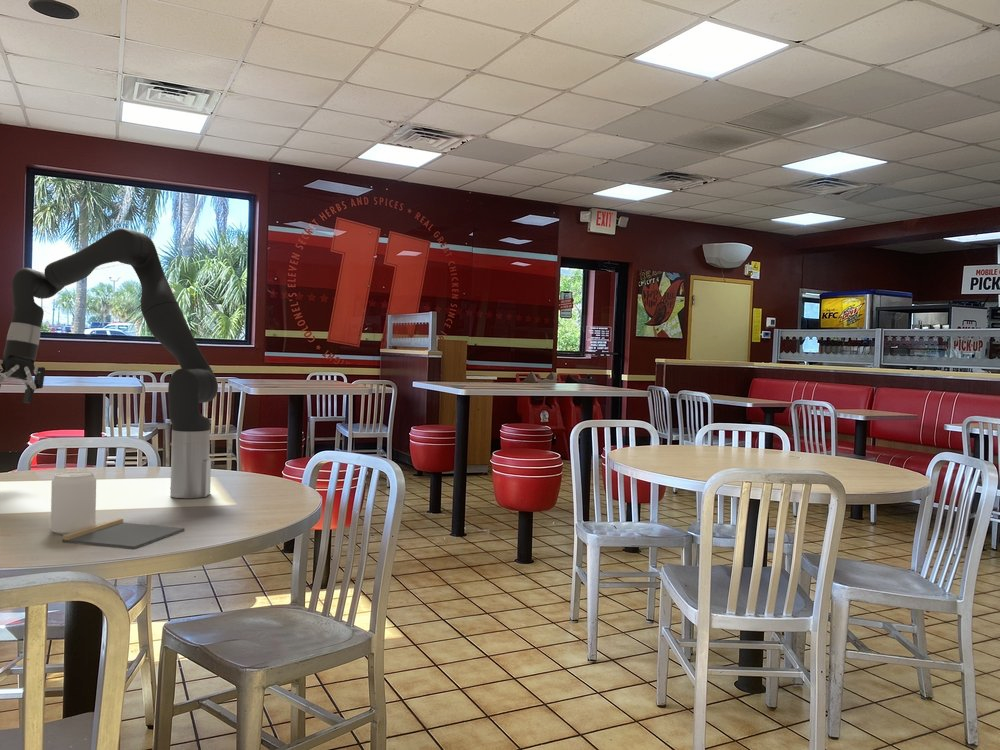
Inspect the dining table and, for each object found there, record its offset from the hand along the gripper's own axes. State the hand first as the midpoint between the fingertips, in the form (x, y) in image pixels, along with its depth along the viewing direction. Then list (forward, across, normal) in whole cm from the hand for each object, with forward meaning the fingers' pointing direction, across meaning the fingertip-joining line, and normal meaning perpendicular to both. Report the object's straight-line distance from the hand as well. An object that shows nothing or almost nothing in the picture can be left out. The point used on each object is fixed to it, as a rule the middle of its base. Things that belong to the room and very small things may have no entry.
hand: (10, 400), depth 205 cm
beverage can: (+28, -16, -60) cm, 68 cm away
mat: (+28, -13, -72) cm, 78 cm away
